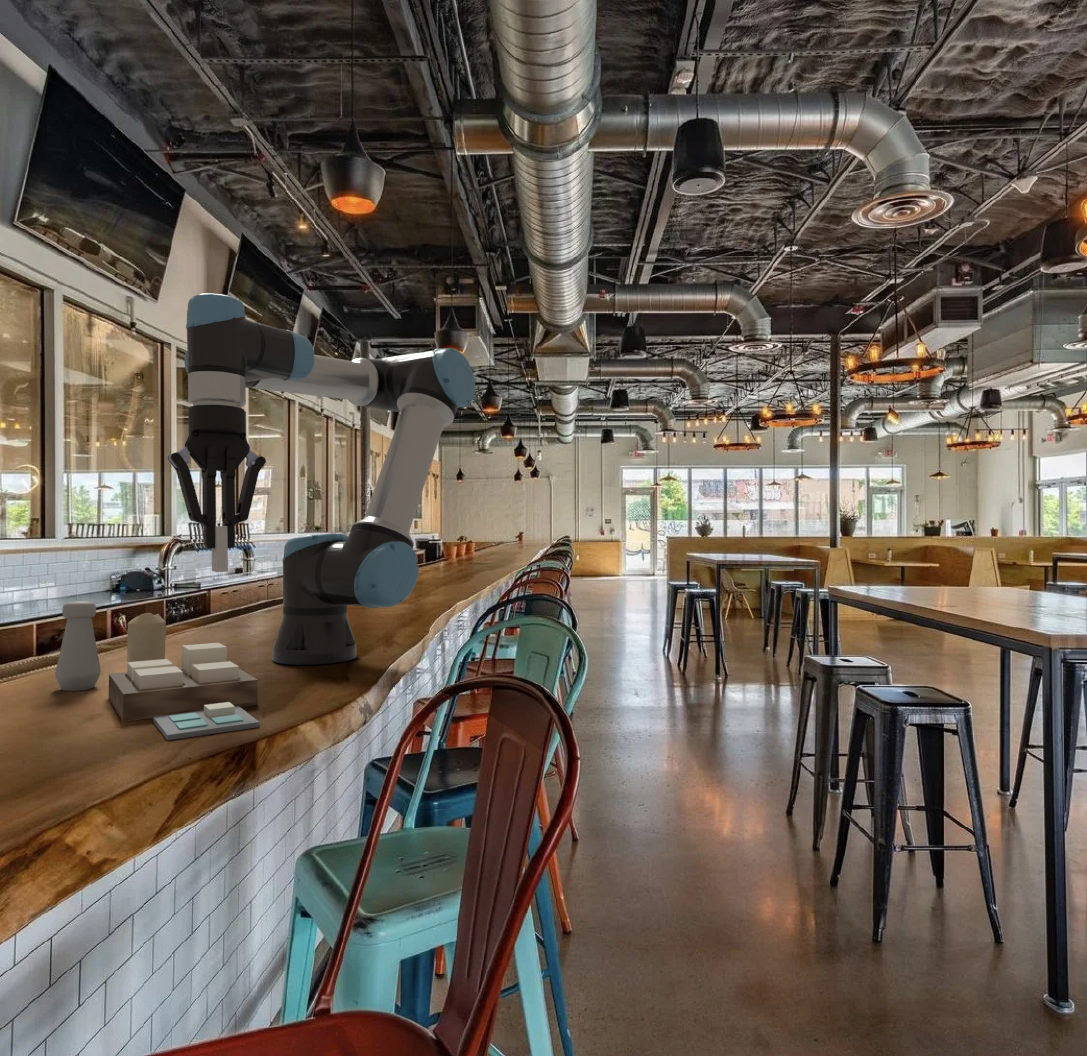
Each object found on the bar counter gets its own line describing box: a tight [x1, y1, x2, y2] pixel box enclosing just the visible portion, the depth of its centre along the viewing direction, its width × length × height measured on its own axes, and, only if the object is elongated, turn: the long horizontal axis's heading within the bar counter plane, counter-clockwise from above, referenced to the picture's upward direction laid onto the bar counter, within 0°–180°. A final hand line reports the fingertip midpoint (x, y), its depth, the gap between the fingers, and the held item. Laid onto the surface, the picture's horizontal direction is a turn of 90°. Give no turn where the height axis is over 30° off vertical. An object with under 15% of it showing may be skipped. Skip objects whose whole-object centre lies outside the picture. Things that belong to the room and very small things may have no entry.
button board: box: [108, 666, 259, 723], centre depth 100 cm, size 16×16×3 cm
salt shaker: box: [54, 600, 102, 692], centre depth 108 cm, size 6×6×13 cm
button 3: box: [192, 660, 240, 684], centre depth 99 cm, size 5×5×4 cm
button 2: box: [134, 665, 183, 690], centre depth 95 cm, size 5×5×4 cm
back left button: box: [181, 642, 228, 675], centre depth 105 cm, size 5×5×4 cm
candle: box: [126, 612, 167, 663], centre depth 119 cm, size 6×6×10 cm
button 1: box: [126, 658, 174, 681], centre depth 100 cm, size 5×5×4 cm
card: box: [152, 702, 260, 741], centre depth 88 cm, size 10×10×2 cm
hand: (219, 571), depth 103 cm, fingers closed
